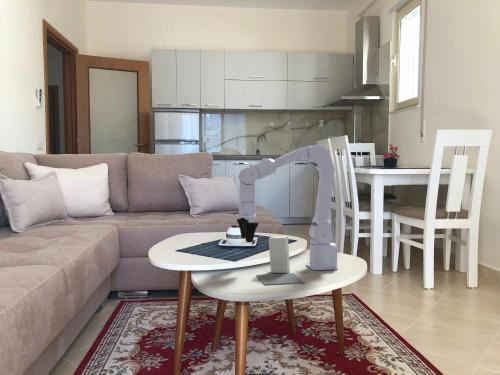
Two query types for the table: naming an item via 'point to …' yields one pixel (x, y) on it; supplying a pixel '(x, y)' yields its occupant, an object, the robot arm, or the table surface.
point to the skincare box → (279, 254)
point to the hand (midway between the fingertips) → (247, 240)
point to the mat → (280, 279)
